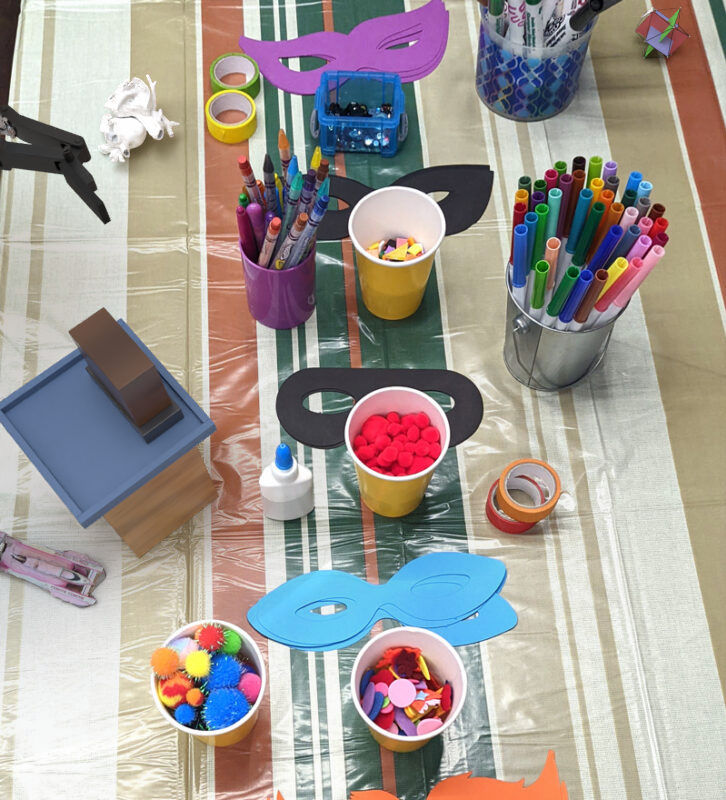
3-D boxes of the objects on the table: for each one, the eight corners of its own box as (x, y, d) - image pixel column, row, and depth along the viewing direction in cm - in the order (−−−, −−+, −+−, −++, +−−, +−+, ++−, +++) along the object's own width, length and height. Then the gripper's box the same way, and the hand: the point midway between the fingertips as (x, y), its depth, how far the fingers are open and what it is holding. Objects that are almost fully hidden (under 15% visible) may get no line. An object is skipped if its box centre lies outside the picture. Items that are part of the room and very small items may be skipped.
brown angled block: (90, 377, 90) (58, 325, 81) (126, 351, 92) (100, 297, 82) (147, 444, 88) (122, 400, 78) (184, 417, 89) (164, 369, 80)
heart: (139, 61, 125) (176, 103, 119) (161, 99, 131) (197, 140, 125) (70, 111, 125) (104, 154, 119) (95, 146, 130) (129, 189, 125)
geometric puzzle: (699, 32, 132) (682, -14, 127) (689, 65, 130) (671, 19, 124) (653, 45, 137) (635, 1, 131) (642, 77, 134) (623, 34, 129)
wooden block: (81, 487, 108) (22, 417, 89) (160, 428, 111) (120, 349, 92) (138, 558, 105) (90, 501, 86) (219, 496, 108) (189, 428, 89)
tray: (-5, 415, 90) (-11, 408, 88) (124, 325, 93) (120, 317, 92) (85, 529, 85) (80, 524, 84) (217, 430, 89) (214, 423, 88)
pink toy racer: (111, 566, 105) (102, 556, 101) (91, 610, 103) (81, 601, 99) (10, 532, 106) (-3, 521, 102) (-11, 575, 104) (-25, 565, 100)
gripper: (44, 84, 95) (160, 207, 89) (-165, 208, 89) (-55, 348, 83) (19, 25, 88) (143, 155, 82) (-210, 155, 82) (-93, 305, 76)
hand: (44, 253), depth 83 cm, fingers open, 13 cm apart
